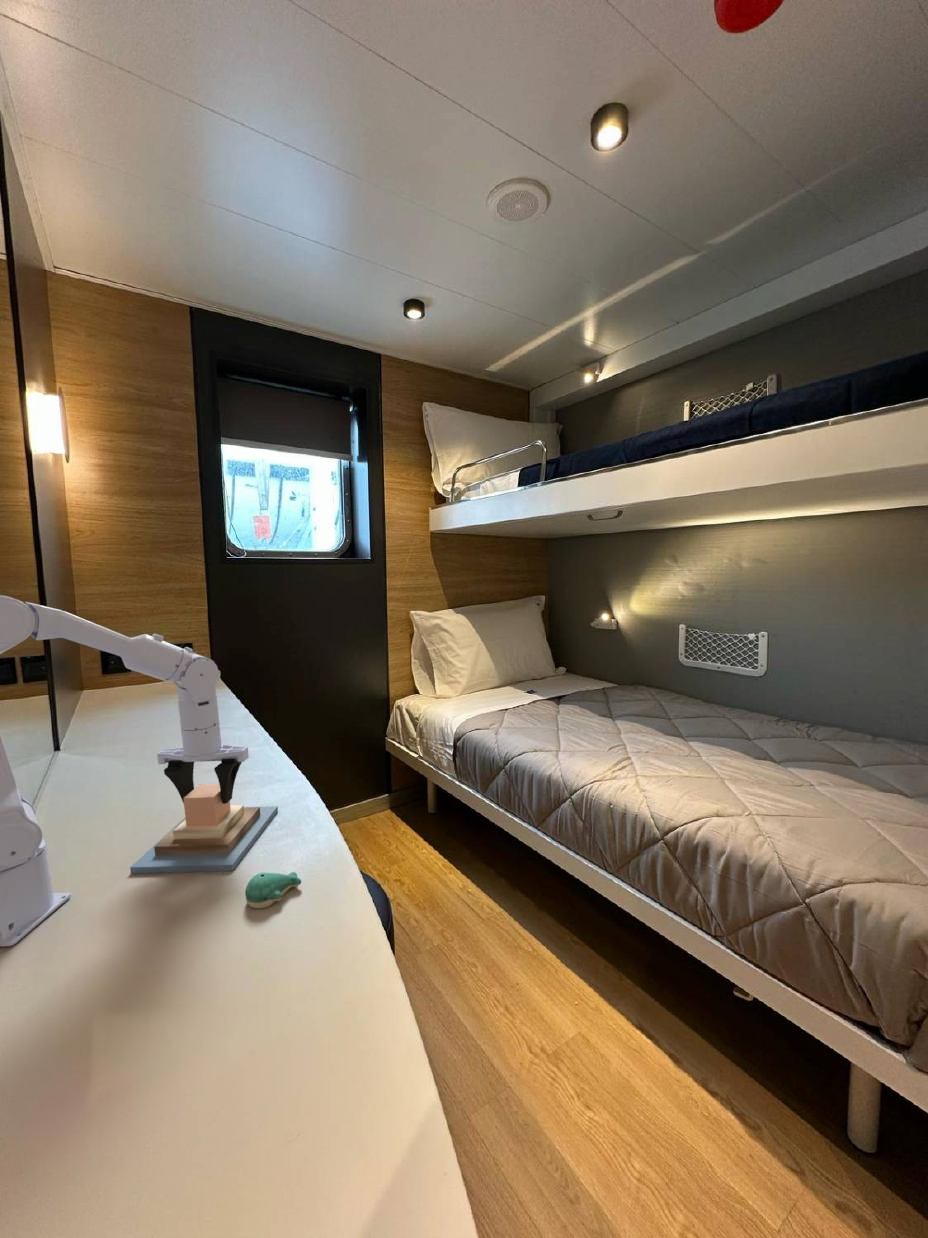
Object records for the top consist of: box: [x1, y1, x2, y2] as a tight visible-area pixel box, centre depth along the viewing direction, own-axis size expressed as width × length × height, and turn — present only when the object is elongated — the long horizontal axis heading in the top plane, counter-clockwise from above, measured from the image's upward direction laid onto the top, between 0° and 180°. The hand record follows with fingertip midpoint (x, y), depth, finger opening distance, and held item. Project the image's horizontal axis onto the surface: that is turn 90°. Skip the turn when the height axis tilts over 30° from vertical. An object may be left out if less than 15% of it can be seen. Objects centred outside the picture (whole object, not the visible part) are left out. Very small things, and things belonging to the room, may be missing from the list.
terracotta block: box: [183, 783, 231, 826], centre depth 84 cm, size 5×5×5 cm
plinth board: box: [130, 804, 279, 874], centre depth 84 cm, size 18×16×4 cm
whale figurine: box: [244, 871, 302, 909], centre depth 69 cm, size 6×7×4 cm
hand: (208, 801), depth 84 cm, fingers open, 6 cm apart
